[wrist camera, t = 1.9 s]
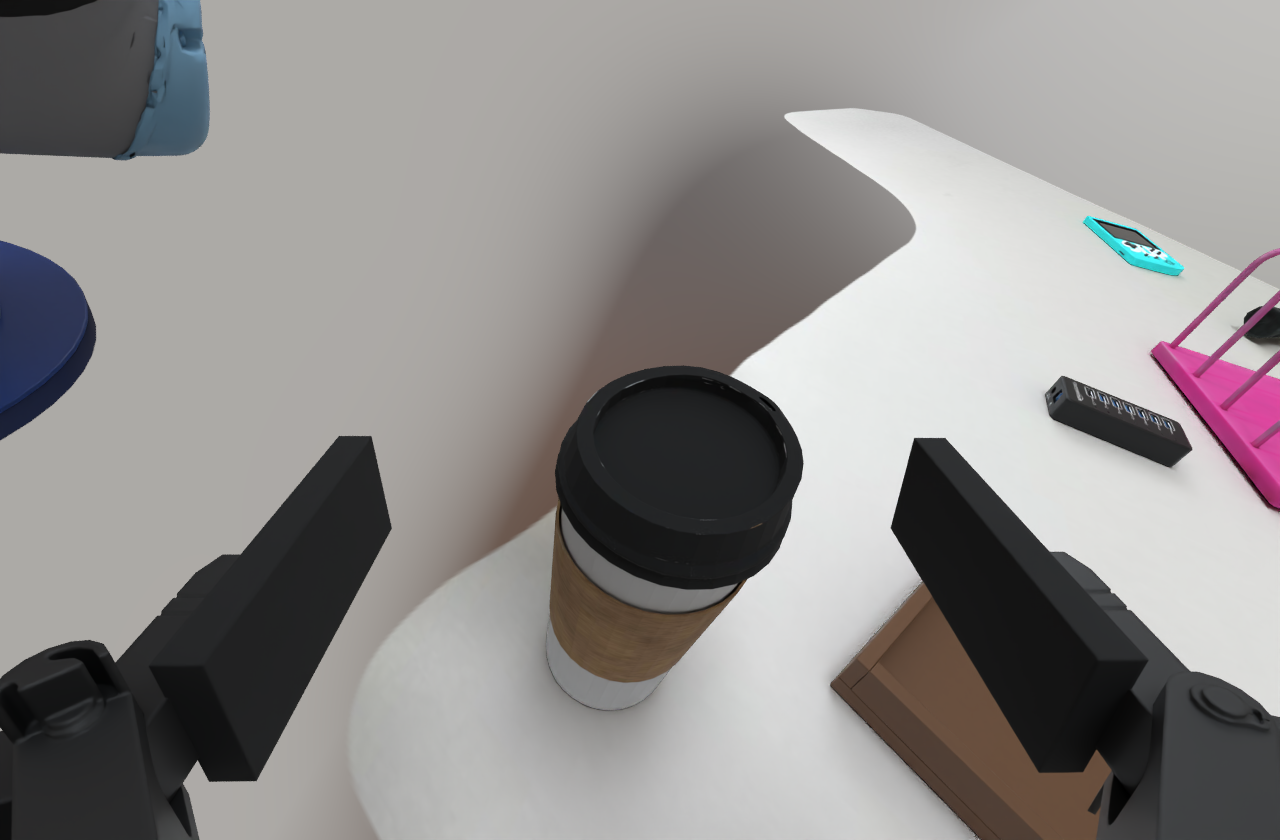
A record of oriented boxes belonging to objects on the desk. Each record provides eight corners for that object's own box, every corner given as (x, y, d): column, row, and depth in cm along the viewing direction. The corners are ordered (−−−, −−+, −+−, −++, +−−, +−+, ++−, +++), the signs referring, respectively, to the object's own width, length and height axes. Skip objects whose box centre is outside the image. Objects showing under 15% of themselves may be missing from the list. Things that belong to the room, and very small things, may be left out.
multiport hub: (1173, 468, 54) (1194, 450, 53) (1050, 417, 56) (1067, 399, 54) (1160, 439, 58) (1180, 421, 56) (1044, 392, 59) (1060, 373, 58)
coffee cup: (723, 677, 30) (867, 478, 20) (580, 782, 25) (678, 588, 16) (625, 550, 34) (704, 333, 24) (486, 619, 30) (516, 385, 20)
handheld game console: (1128, 264, 96) (1135, 256, 95) (1080, 220, 107) (1085, 213, 107) (1185, 279, 97) (1192, 271, 96) (1131, 234, 109) (1137, 227, 108)
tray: (829, 685, 31) (856, 657, 29) (954, 546, 41) (981, 518, 39) (1192, 1055, 23) (1262, 1052, 22) (1242, 776, 33) (1294, 756, 31)
